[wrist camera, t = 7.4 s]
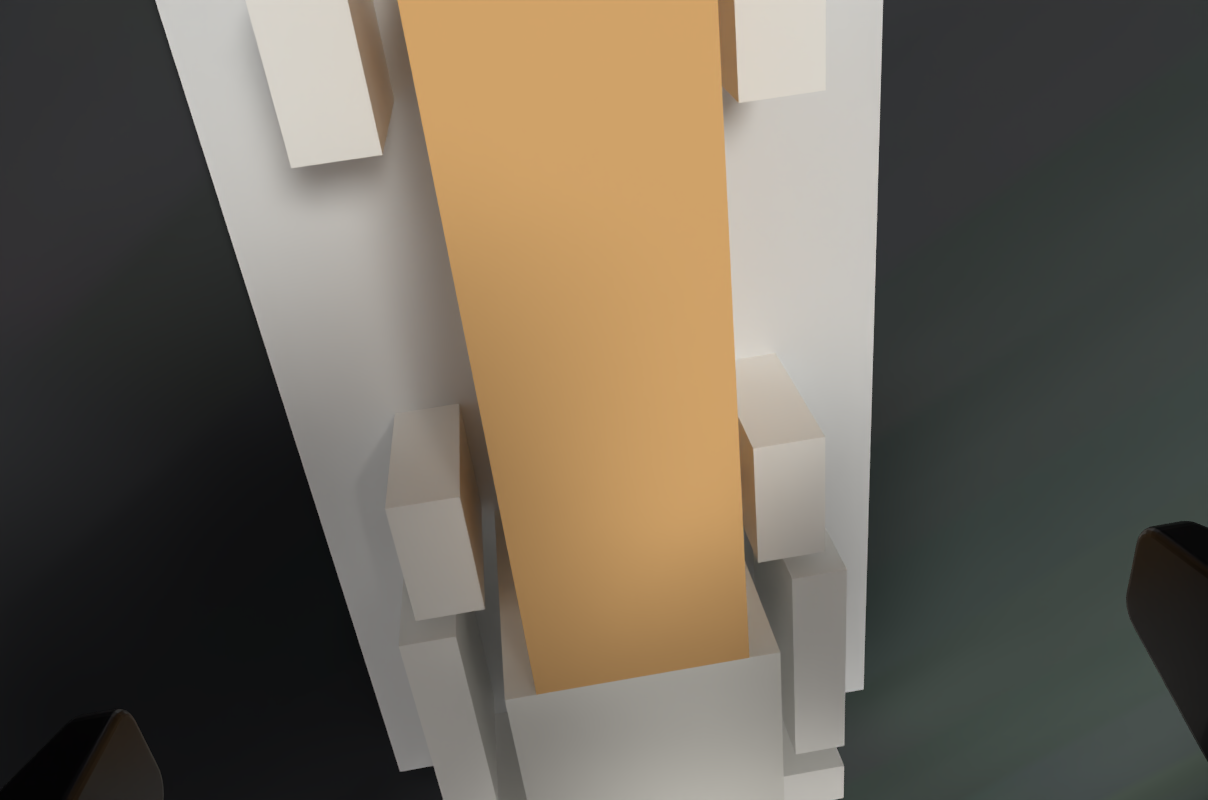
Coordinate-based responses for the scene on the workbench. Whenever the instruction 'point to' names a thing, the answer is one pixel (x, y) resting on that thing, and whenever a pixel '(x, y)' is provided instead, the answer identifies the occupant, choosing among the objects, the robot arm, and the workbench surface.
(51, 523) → the workbench surface
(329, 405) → the board
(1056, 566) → the workbench surface
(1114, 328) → the workbench surface
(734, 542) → the two-tone rectangular block
